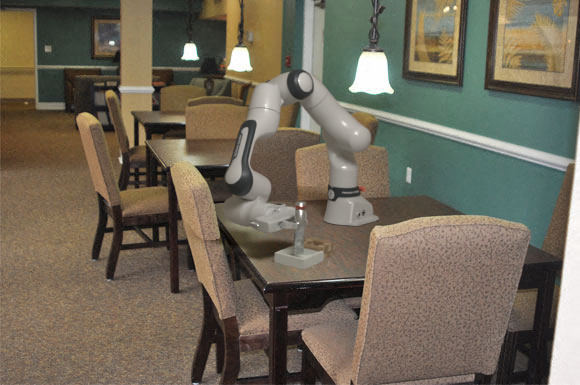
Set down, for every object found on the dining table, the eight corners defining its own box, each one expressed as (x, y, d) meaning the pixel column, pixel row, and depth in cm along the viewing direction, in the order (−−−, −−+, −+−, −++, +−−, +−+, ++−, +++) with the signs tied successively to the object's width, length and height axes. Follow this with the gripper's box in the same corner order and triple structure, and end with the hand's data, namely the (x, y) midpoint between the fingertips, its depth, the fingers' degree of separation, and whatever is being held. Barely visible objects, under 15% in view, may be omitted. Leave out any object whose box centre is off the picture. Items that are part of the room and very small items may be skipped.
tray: (294, 254, 213) (294, 244, 212) (323, 261, 207) (323, 251, 206) (274, 262, 204) (274, 252, 204) (303, 269, 198) (304, 259, 198)
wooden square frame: (310, 249, 219) (311, 237, 218) (333, 254, 214) (334, 242, 213) (295, 255, 212) (295, 243, 211) (318, 261, 207) (319, 248, 206)
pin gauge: (299, 250, 207) (301, 200, 204) (306, 252, 205) (308, 202, 201) (291, 251, 205) (293, 201, 202) (297, 254, 203) (299, 203, 199)
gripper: (246, 213, 201) (282, 221, 194) (285, 202, 218) (320, 209, 210) (245, 233, 203) (281, 241, 195) (284, 220, 219) (319, 228, 211)
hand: (302, 224), depth 203 cm, fingers closed on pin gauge, 3 cm apart
